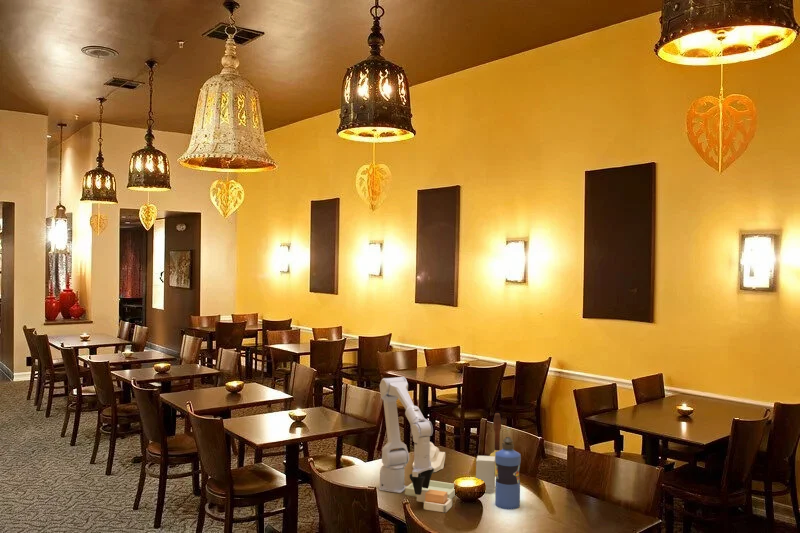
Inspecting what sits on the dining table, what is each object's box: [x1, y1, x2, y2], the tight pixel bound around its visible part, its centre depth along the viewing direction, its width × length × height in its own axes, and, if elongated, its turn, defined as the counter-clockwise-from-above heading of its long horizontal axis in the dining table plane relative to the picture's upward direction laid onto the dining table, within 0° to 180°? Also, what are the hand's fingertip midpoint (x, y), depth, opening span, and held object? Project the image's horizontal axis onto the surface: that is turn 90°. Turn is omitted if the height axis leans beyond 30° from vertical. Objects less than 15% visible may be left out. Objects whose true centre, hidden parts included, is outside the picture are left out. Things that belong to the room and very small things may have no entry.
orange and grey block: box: [416, 489, 447, 504], centre depth 242 cm, size 11×4×6 cm, turn 67°
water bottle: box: [494, 436, 522, 510], centre depth 244 cm, size 9×9×25 cm
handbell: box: [489, 412, 502, 476], centre depth 286 cm, size 12×12×25 cm
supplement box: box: [475, 455, 496, 494], centre depth 261 cm, size 7×7×13 cm
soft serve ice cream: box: [411, 441, 446, 473], centre depth 287 cm, size 12×15×14 cm
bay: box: [423, 498, 453, 514], centre depth 241 cm, size 8×8×2 cm
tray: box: [404, 479, 456, 500], centre depth 257 cm, size 18×13×3 cm
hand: (421, 491), depth 244 cm, fingers open, 7 cm apart
